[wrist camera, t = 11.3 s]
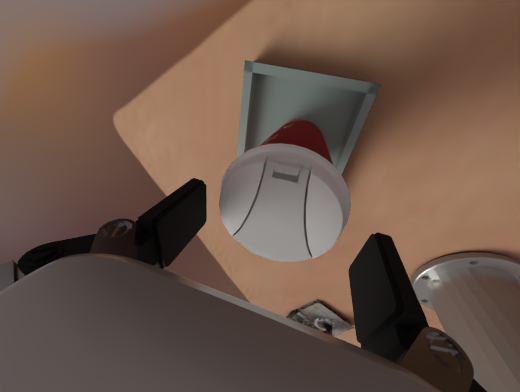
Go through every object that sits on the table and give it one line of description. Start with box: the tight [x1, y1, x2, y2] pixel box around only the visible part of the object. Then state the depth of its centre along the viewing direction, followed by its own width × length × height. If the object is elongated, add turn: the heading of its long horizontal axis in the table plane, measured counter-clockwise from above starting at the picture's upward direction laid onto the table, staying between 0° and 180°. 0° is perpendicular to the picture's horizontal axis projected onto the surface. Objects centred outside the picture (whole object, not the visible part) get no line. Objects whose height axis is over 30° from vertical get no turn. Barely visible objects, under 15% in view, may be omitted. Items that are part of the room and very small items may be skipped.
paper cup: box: [219, 120, 351, 262], centre depth 16 cm, size 8×8×14 cm
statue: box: [286, 300, 353, 337], centre depth 35 cm, size 11×9×15 cm
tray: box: [237, 61, 381, 175], centre depth 21 cm, size 12×14×2 cm
